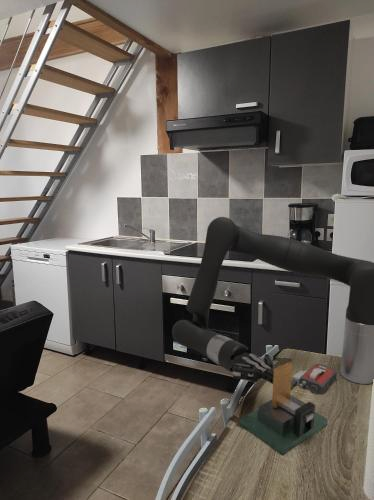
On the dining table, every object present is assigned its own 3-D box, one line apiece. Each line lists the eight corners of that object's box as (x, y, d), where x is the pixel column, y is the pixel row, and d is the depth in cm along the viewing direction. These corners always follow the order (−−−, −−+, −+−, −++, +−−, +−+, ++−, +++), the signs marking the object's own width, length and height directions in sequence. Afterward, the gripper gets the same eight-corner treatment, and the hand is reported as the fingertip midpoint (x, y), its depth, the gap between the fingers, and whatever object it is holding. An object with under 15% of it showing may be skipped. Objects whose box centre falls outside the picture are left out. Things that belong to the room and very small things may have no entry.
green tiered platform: (284, 400, 93) (285, 374, 92) (326, 424, 84) (329, 396, 83) (239, 424, 84) (241, 395, 82) (282, 454, 74) (284, 423, 73)
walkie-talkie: (309, 368, 111) (277, 395, 96) (310, 354, 110) (278, 380, 95) (339, 378, 105) (310, 409, 90) (340, 364, 104) (311, 393, 89)
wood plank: (285, 398, 86) (288, 362, 84) (316, 415, 79) (320, 377, 78) (271, 405, 83) (274, 368, 81) (302, 424, 76) (305, 384, 75)
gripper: (208, 346, 92) (261, 374, 79) (245, 333, 100) (299, 357, 87) (208, 373, 93) (260, 406, 80) (244, 359, 101) (297, 386, 88)
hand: (280, 381), depth 83 cm, fingers closed
